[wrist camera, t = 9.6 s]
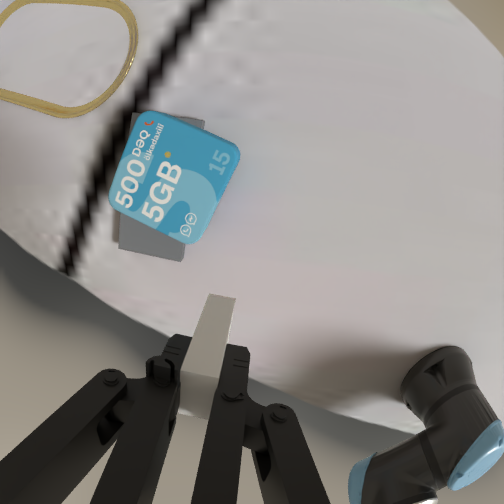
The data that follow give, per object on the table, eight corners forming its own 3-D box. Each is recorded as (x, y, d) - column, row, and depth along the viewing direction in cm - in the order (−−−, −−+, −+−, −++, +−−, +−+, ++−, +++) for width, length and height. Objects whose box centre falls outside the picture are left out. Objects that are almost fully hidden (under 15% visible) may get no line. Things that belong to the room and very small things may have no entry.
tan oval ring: (108, 133, 36) (103, 134, 35) (-27, 90, 32) (-33, 90, 31) (165, 8, 30) (161, 4, 28) (10, -3, 26) (5, -5, 24)
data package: (195, 249, 34) (104, 204, 33) (202, 237, 39) (120, 197, 37) (242, 150, 30) (141, 106, 29) (245, 148, 35) (155, 109, 33)
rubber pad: (183, 257, 41) (180, 261, 40) (122, 244, 41) (118, 248, 40) (205, 121, 35) (202, 120, 34) (137, 113, 35) (132, 112, 33)
